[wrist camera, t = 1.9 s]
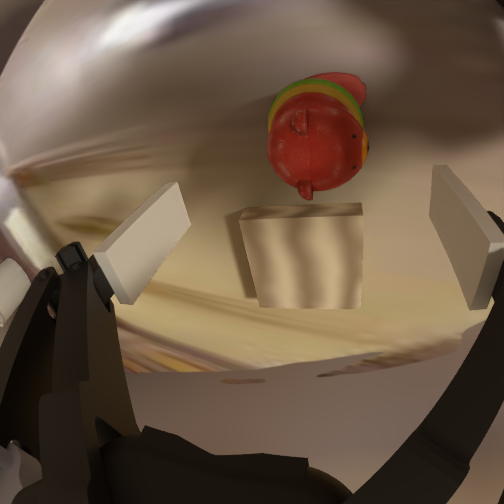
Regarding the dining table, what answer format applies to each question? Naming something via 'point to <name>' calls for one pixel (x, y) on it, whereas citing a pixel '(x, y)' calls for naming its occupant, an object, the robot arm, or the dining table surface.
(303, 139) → the stacking bear
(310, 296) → the maple block
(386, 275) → the dining table surface
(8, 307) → the utensil holder
